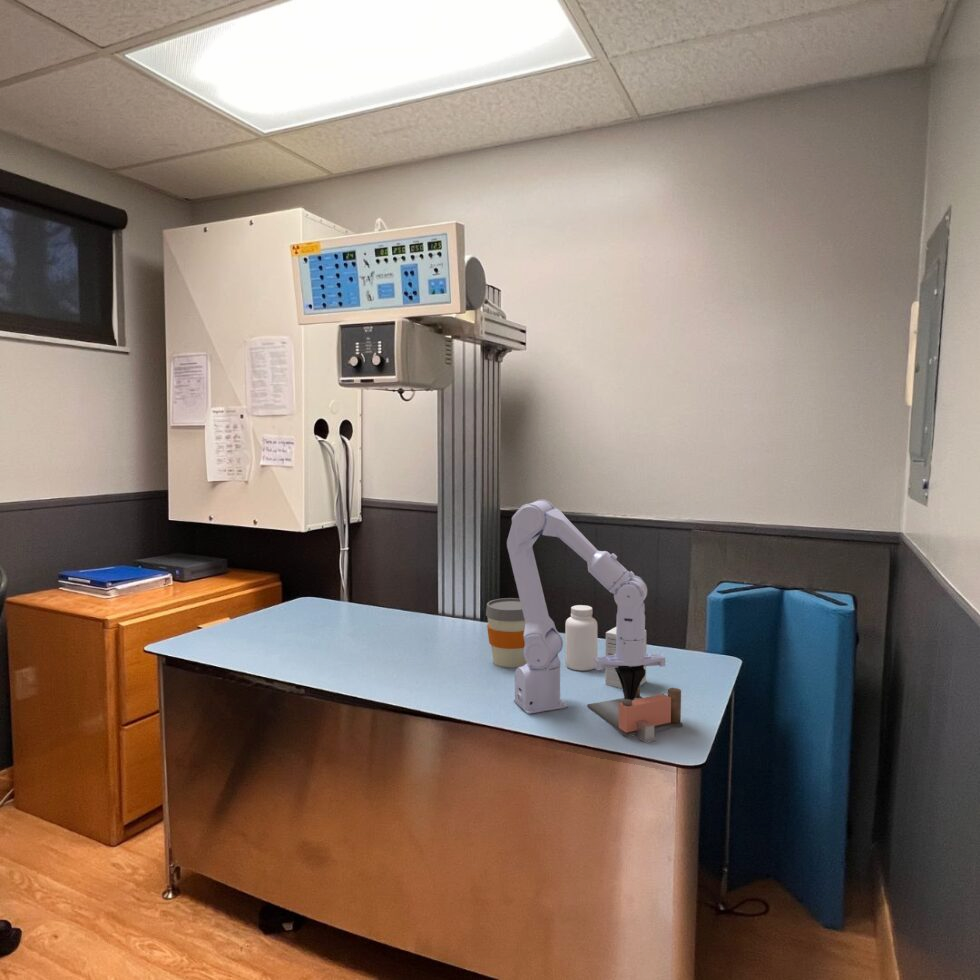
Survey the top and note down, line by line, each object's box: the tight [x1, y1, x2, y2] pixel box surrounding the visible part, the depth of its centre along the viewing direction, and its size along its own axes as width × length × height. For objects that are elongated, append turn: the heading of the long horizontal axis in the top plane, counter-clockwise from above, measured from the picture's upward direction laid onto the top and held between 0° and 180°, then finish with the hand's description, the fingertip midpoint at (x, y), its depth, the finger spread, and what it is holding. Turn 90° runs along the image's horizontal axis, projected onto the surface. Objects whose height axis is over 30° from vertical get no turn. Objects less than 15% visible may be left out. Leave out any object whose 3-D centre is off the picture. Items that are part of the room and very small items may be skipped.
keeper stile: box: [636, 720, 655, 744], centre depth 133 cm, size 2×3×3 cm, turn 21°
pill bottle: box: [564, 604, 598, 672], centre depth 173 cm, size 8×8×15 cm
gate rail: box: [619, 693, 671, 733], centre depth 136 cm, size 2×11×6 cm, turn 115°
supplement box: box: [604, 626, 647, 689], centre depth 161 cm, size 7×7×13 cm
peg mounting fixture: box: [586, 685, 684, 738], centre depth 143 cm, size 13×16×7 cm
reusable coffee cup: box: [485, 597, 527, 668], centre depth 177 cm, size 13×13×15 cm
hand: (629, 700), depth 143 cm, fingers closed
